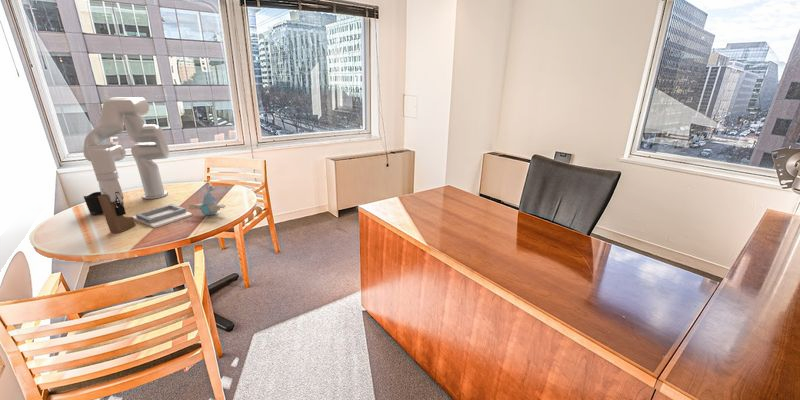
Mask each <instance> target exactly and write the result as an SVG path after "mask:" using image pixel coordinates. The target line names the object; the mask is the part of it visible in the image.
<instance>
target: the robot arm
mask: <svg viewBox="0 0 800 400" xmlns="http://www.w3.org/2000/svg"><path fill="white" fill-rule="evenodd" d="M149 110H150V106H149V103H148V100H147V99H145V98H144V97H140V96H139V97H137V96H135V97H133V96H132V97H130V96H129V97H127V96H125V97H124V96H123V97H121V96H119V97H118V96H117V97H110V98H109V97H108V98H107V99H106V100H105V101H104V102H103V104H102V108H101V114H100V115H101V116H100V123H99V125H97V126H96V127H95V128H94V129H92V130H91V131H90V132H89V133H88V134H87V135H86V136H85V139H84V142H83V150H82V151H83V156H84V158H85V159H86V161H89V162H91V165H92V168H93V171H94V175H95V178H96V181H97V182H98V187H99V192H101V195H102V194H105V195H107V196H108V198H109V201H110V202H114V204H115V207H116V208H115V210H116V213H117V216H121V215H123V216H124V215H126V214H127V213H126V209H125V205H124V203H125V202H124V198H125V197H124V193H123V191H122V186H121V185H120V182H119V178H120V176H119V173H118V170H117V166H116V163H115V162H120V161H122V160H123V159H124V158H126V155H127V151H126V149H125V148H124V147H123V146H122V145H120V144H117V143H116V144H113V143H111V144H100V143H101V142H103V141H104V140H107V139H109V138H112V137H114V136H117V135H120V134H121V133H123V131H124V128H125V130H126V132H127V136H128V137H129V139H130V141H131V142H134V143H136V144H133V145H132V146H131V147H130V148H131V149H130V151H131V155H132V157H133V159H134V161H135V163H136V166H137V170H138V173H139V174H138V175H139V177H140V181H141V185H142V188H143V191H144V193H143V194H142V195H141V197H142V199H144V200H153V199H160V198H163V197H166V196H168V195H169V194H168V193H169V192H168V191H167V190H165V188H164V185H163V181H162V177H161V176H162V175H161V173H160V167H159V166H158V164H157V163H156V162H155V161H154V160H165V159H168V158H169V157H170V150H169V146H168V143H167V140H166V137H165V134H164V131H163V129H162V127H161V126H159V125H158V124H145V123H144V120H143V118H142V116H144V115H146V114H147V115H148V113H149ZM116 199H117V201H115V200H116ZM116 202H118V203H116Z"/></svg>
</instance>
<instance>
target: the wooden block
mask: <svg viewBox="0 0 800 400" xmlns="http://www.w3.org/2000/svg"><path fill="white" fill-rule="evenodd" d="M98 199H99V201H100V204H101V207H102V210H103V213H104V214H103V216H104V217H105V221H106V224H107V226H108V230H109V233H113V234H119V233H122V232H123V231H125V230H128V229H130V228H133V227H135V226H136V222H135V221H136V220H134V218H133V217H132V216H124V215H121V216H117V213H116V210H115V208H116V207H115V204H114V202H110V201H109V198H108V196H107V195H105V194H102V195H99V196H98ZM115 201H118V199H116V200H115ZM116 203H119V202H116Z"/></svg>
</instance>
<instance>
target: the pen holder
mask: <svg viewBox="0 0 800 400" xmlns="http://www.w3.org/2000/svg"><path fill="white" fill-rule="evenodd" d="M99 195H101V191H95V192H92V193H90V194H88V195H83V197H82V198H83V199H84V201H85V204H86V207H87V209H88V211H89V214H90V215H92V216H100V215H104V213H103V210H102V207H101V204H100V201H99V199H98V196H99Z"/></svg>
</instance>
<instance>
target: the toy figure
mask: <svg viewBox="0 0 800 400" xmlns="http://www.w3.org/2000/svg"><path fill="white" fill-rule="evenodd" d="M206 189H208V190H207V191H206V193H205V194H204V196H203V199H202V202H201V203H191V204H188V208H189V210H190V209H191V210H195V211H196V210H200V212H201V214H203V215H207V216H213V215H215V214H217V213H218V211H220V210H221V209H224V208H225V207H226V205H225V204H217V203H216V202H217V197H215V196H214V195H212V193H211V192H214V191H215V190H216V188H215V187H214V186H213V185H212V184H210V185H208V186H206Z"/></svg>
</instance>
